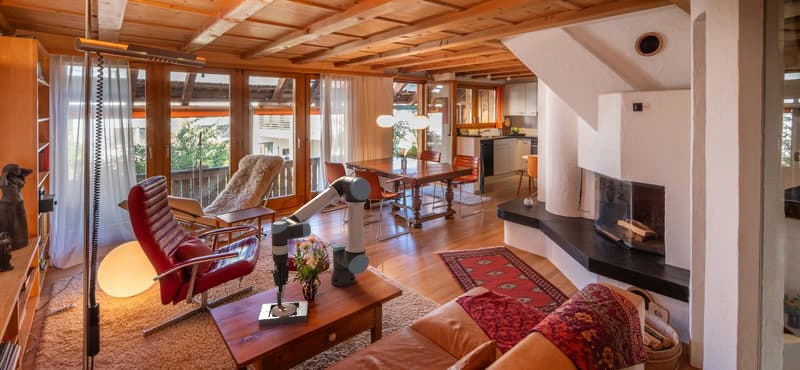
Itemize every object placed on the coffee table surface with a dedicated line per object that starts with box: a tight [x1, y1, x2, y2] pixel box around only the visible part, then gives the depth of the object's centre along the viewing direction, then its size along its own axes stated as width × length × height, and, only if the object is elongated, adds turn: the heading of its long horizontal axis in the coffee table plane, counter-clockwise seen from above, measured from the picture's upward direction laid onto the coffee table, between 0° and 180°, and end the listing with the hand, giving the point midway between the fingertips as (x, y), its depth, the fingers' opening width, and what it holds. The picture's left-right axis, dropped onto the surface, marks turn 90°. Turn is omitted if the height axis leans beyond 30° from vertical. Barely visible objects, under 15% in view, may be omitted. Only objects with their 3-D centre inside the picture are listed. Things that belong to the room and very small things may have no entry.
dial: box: [271, 291, 297, 317], centre depth 204 cm, size 12×12×9 cm
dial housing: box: [258, 300, 309, 327], centre depth 205 cm, size 22×16×4 cm
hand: (282, 297), depth 211 cm, fingers closed
